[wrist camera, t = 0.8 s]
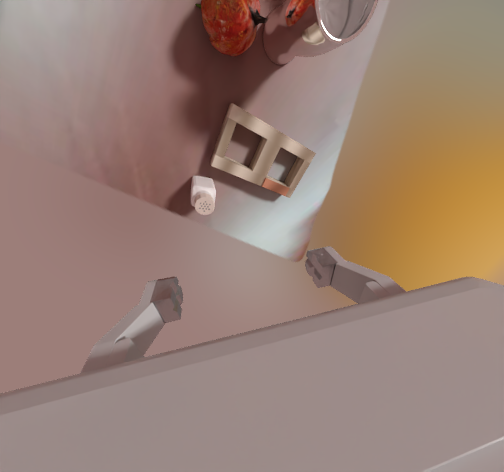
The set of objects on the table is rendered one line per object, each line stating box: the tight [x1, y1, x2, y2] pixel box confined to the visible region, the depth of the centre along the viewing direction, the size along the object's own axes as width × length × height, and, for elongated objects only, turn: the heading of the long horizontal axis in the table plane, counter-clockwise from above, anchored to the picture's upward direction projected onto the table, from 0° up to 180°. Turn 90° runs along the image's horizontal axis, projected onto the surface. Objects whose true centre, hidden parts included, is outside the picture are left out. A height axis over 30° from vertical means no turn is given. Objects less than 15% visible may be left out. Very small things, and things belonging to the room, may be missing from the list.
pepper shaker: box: [191, 176, 216, 215], centre depth 33 cm, size 4×4×10 cm
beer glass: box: [263, 0, 378, 65], centre depth 22 cm, size 7×7×15 cm
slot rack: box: [210, 104, 316, 198], centre depth 35 cm, size 18×10×3 cm, turn 64°
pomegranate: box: [196, 0, 269, 56], centre depth 23 cm, size 7×7×10 cm
